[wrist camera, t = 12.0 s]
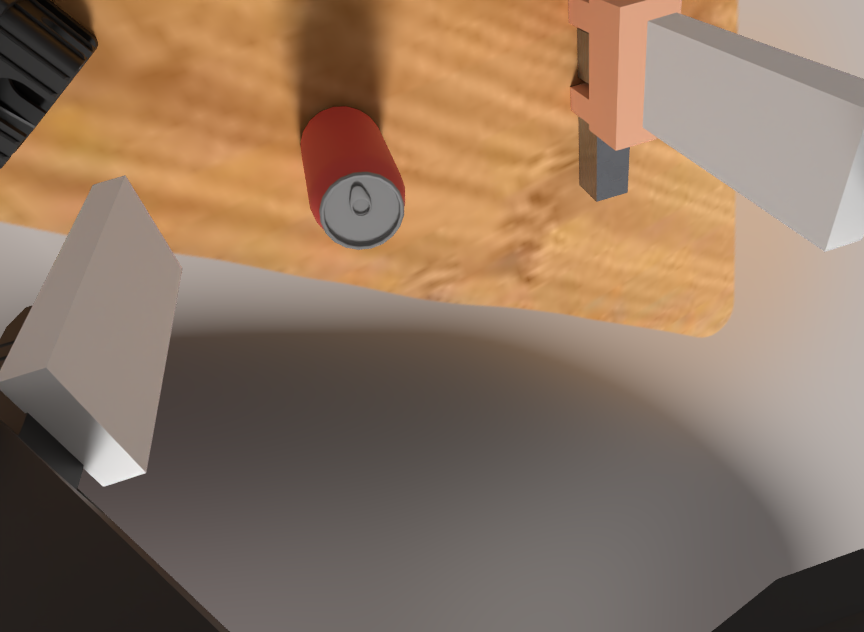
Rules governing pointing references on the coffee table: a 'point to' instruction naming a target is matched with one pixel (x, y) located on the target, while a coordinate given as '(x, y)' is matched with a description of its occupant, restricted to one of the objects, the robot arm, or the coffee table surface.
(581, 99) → the salmon pink bridge block
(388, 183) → the beer can
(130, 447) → the robot arm
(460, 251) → the coffee table surface
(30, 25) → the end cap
